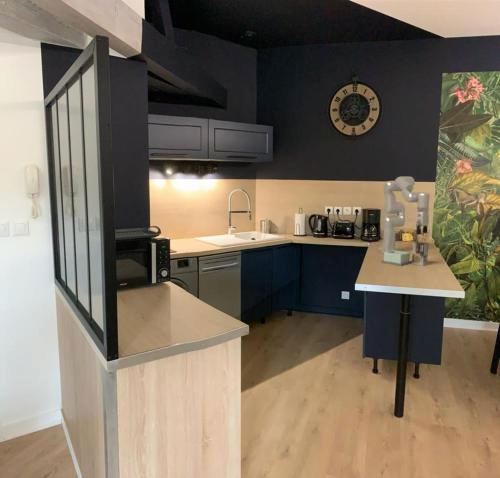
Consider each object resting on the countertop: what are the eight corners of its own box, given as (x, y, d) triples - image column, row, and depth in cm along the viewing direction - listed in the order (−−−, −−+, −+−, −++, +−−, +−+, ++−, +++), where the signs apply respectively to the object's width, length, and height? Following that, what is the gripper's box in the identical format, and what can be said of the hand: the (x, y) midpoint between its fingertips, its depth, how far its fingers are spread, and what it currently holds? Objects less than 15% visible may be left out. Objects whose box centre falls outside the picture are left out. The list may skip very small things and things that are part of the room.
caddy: (381, 262, 337) (381, 252, 335) (392, 259, 347) (392, 249, 346) (401, 266, 325) (401, 255, 324) (411, 263, 336) (412, 252, 335)
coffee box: (427, 264, 330) (428, 243, 328) (423, 265, 326) (424, 243, 324) (415, 262, 337) (417, 241, 335) (411, 263, 333) (412, 242, 331)
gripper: (422, 210, 317) (421, 235, 319) (433, 209, 329) (432, 233, 331) (412, 210, 322) (411, 234, 325) (423, 209, 334) (422, 232, 336)
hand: (421, 233), depth 328 cm, fingers open, 9 cm apart
